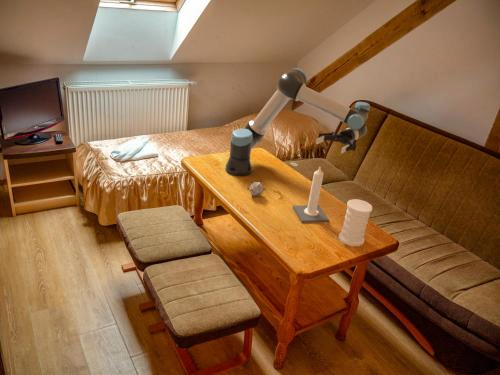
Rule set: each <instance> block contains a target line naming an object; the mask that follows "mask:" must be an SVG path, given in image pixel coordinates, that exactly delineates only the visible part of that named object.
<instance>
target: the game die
mask: <svg viewBox="0 0 500 375" xmlns="http://www.w3.org/2000/svg"><path fill="white" fill-rule="evenodd" d="M247 190H248V191H249V192H250V194H251V195H252V196H251V198H253V197H259V196H260V197H262V194H263V192H264V191H265V190H266V188H264V186H263V184H262V180H260V181H252V180H251V184H250V185H249V187H247Z"/></svg>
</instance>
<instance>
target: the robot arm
mask: <svg viewBox="0 0 500 375" xmlns="http://www.w3.org/2000/svg"><path fill="white" fill-rule="evenodd" d="M307 77H308V76H307V74H306V73H305V71H303V70H302V69H301V68H291V69H290V70H288V71H286V72H284V73H283V74H282V75H280V77H279V79H278V82H277V85H276V88H277V90H276V91H275V92H274V93H273V94H272V96H271V97H270V98H269V99H268V101H267V102H266V104H265V105H264V106H263V108H262V109H261V110H260V112H259V113H258V114H257V116H256V117H254V119H250V120H249V121H248V123H247V124H246V125H245V127H244V128H237V129H235V130H234V131H232V133H231V136H230V148H229V157H228V159H227V162H226V164H225V171H226V172H227V173H228V174H229V175H232V176H237V177H245V176H249V175H250V174H251V173H252V170H253V167H252V162H251V154H252V153H251V152H252V149H253V148H254V147H256V146H257V145H258V144H259V143H260V142H261V141H262V139H263V138H264V136H265V135H266V134H267V131H266V130H267V128H268V127H269V125H270V124H272V122H273V121H274V120H275V119H276V117H277V116H278V114H279V113H280V112H281V111H282V109H283V108H284V107H285V106H286V105H287V103H288V102H289V101H290V100H293V101H295V102H298V101H299V102H302V103H303V104H305V105H307V106H310V107H311V108H314V109H316V110H318V111H320V112H322V113H324V114H326V115H328V116H330V117H332V118H334V119H336V120H338V121H340V122H342V123H344V124H346V125H347V128H345V129H343V130H342V131H340V132H339V133H338V134H337V133H336V134H335V131H332V132H324V133H323V132H322V133H319V134H318V137H317V138H316V141H315V145H318V144H321V143H323V142H324V141H329V142H330V141H333V142H335V143H341V144H342V145H344V146H343V147H341V150H340V154H344V153H346V152H349V151H353V152H356V149H357V142H358V140H359V139H361V138H363V137H364V136H365V135H366V134H367V131H368V128H367V126H366V125H367V121H368V118H369V114H370V110H371V105H370V104H369V103H368V102H364V101H357V102H356V103H355V105H354V109H353V108H350V107H349V106H347V105H344V104H342V103H340V102H338V101H336V100H334V99H332V98H330V97H328V96H326V95H324V94H322V93H320V92H318V91H315V90H314V89H312V88H309V87H307V86H306V85H307V83H308V78H307Z"/></svg>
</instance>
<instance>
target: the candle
mask: <svg viewBox="0 0 500 375" xmlns="http://www.w3.org/2000/svg"><path fill="white" fill-rule="evenodd" d="M321 168H322V167H321V166H319V168H318V169H317V170H315V171H314V173H313V177H312V182H311V187H310V192H309V198H308V202H307V203H308V204H307V205H308V207H307V208H306V209H305V210H304V213H305V214H306V215H308V216H317V215H318V213H319V212H318V211H317V205H319V199H320V193H321V188H322V184H323V181H324V180H323V179H324V172H323V171H322V169H321Z"/></svg>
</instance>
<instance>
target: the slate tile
mask: <svg viewBox="0 0 500 375" xmlns="http://www.w3.org/2000/svg"><path fill="white" fill-rule="evenodd" d="M307 207H308V204H305V205H301V204H300V205H292V210H293V211H294V213H295V215H296V216H297V218H298V219H299V221H300V222H301V223H302V224H307V223H309V224H310V223H328V222H330V219H329V217H328V216H327V214H326V213H325V212H324V210H323V209H322V207H321V206H320V204H318V205H317V211H318V212H319V213H318V215H317V216H308V215H306V214H305V213H304V210H305V209H306V208H307Z"/></svg>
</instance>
